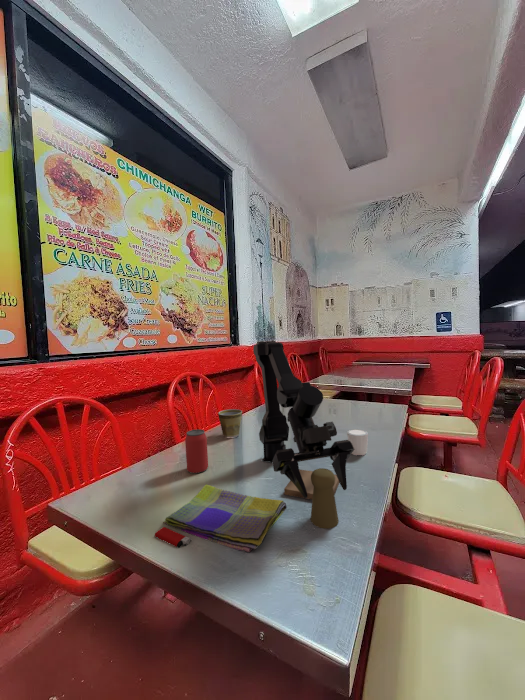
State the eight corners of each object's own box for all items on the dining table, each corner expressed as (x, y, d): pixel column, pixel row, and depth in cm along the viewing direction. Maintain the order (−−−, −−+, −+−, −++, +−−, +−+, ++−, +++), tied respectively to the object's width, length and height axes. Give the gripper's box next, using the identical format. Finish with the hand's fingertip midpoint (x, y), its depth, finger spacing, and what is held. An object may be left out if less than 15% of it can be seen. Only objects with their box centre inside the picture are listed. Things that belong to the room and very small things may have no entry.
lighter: (165, 525, 66) (191, 537, 61) (165, 531, 66) (192, 543, 61) (154, 533, 63) (181, 545, 59) (154, 539, 63) (181, 551, 59)
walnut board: (284, 494, 78) (284, 488, 77) (298, 474, 88) (298, 469, 88) (331, 503, 73) (330, 497, 72) (340, 480, 83) (340, 475, 83)
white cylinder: (346, 455, 101) (345, 434, 100) (348, 447, 107) (348, 428, 107) (368, 457, 98) (367, 436, 98) (369, 449, 104) (368, 429, 104)
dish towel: (208, 490, 83) (207, 480, 83) (291, 509, 72) (290, 497, 72) (160, 527, 67) (159, 515, 67) (257, 559, 56) (256, 544, 56)
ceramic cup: (242, 439, 121) (241, 414, 121) (217, 440, 122) (216, 415, 121) (244, 429, 134) (243, 407, 134) (222, 430, 134) (221, 408, 134)
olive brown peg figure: (339, 529, 63) (337, 478, 62) (309, 527, 64) (307, 476, 63) (338, 512, 69) (336, 465, 68) (311, 511, 70) (309, 464, 69)
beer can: (212, 468, 95) (210, 431, 95) (194, 476, 90) (192, 436, 90) (200, 463, 100) (198, 427, 99) (182, 470, 95) (180, 432, 94)
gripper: (273, 415, 67) (294, 487, 56) (348, 406, 71) (379, 471, 61) (265, 439, 74) (282, 506, 64) (333, 429, 79) (359, 490, 69)
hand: (326, 493), depth 65 cm, fingers open, 9 cm apart
